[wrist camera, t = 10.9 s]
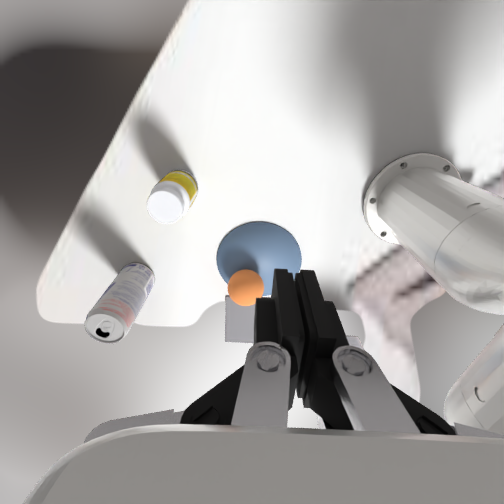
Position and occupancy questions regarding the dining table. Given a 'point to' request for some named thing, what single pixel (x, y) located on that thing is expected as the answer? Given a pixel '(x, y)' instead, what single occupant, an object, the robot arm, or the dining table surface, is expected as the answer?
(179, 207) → the supplement bottle
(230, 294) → the ball
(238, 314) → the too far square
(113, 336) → the energy drink
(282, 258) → the disc
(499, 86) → the dining table surface
